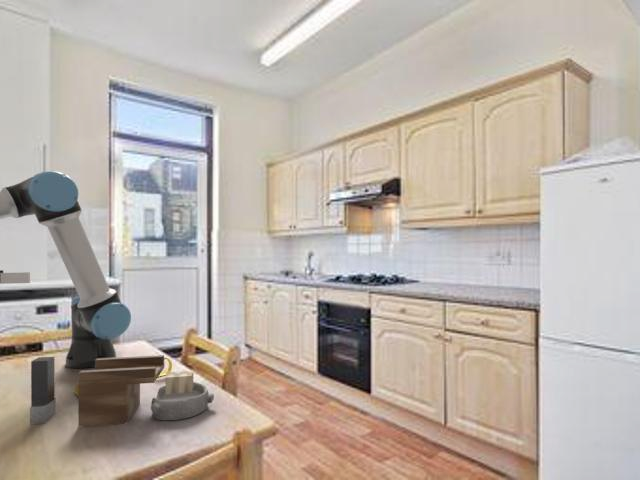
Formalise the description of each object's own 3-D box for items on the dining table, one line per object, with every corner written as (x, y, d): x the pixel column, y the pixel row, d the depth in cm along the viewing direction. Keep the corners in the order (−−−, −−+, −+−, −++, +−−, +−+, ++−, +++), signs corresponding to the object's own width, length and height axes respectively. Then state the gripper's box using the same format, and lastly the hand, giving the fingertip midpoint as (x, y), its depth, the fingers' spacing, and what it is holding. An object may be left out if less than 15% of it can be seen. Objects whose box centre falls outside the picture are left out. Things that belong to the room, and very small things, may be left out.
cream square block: (180, 371, 103) (193, 370, 104) (180, 387, 103) (193, 386, 104) (178, 376, 100) (191, 375, 100) (178, 393, 100) (191, 392, 100)
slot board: (97, 406, 104) (97, 358, 104) (164, 401, 107) (164, 354, 107) (78, 426, 92) (78, 372, 92) (154, 421, 95) (153, 368, 95)
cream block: (168, 372, 103) (180, 371, 103) (168, 388, 103) (180, 387, 103) (165, 377, 99) (178, 376, 100) (165, 394, 99) (178, 393, 100)
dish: (152, 427, 92) (152, 405, 92) (147, 406, 105) (147, 386, 105) (217, 415, 99) (217, 394, 99) (205, 396, 111) (205, 377, 111)
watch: (168, 373, 131) (169, 354, 131) (172, 375, 129) (173, 356, 129) (149, 376, 126) (151, 357, 127) (153, 378, 124) (155, 358, 125)
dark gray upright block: (41, 414, 99) (40, 356, 99) (56, 413, 99) (56, 355, 99) (29, 425, 93) (28, 362, 93) (45, 423, 94) (45, 361, 94)
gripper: (-49, 291, 110) (39, 289, 113) (-135, 306, 85) (-18, 302, 89) (-49, 263, 110) (39, 262, 113) (-135, 269, 85) (-18, 267, 89)
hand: (14, 280), depth 101 cm, fingers open, 13 cm apart
